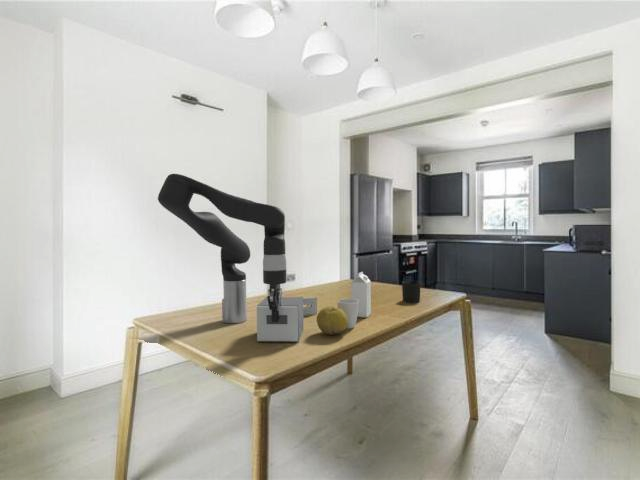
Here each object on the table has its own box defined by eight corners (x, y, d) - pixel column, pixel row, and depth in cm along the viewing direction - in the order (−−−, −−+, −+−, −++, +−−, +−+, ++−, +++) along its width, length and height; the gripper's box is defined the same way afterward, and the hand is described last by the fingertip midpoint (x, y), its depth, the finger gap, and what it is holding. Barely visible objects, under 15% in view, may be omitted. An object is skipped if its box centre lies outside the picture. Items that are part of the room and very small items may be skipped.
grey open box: (257, 341, 120) (257, 305, 120) (267, 329, 135) (266, 297, 135) (298, 342, 119) (298, 305, 119) (303, 329, 134) (303, 297, 134)
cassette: (316, 313, 160) (315, 296, 160) (317, 314, 158) (317, 297, 158) (290, 316, 155) (290, 299, 155) (292, 317, 154) (291, 299, 153)
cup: (360, 324, 140) (360, 299, 140) (355, 330, 132) (355, 303, 132) (340, 323, 143) (340, 298, 142) (335, 328, 135) (334, 302, 135)
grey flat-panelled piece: (257, 341, 118) (256, 307, 118) (266, 328, 134) (266, 298, 133) (297, 341, 118) (297, 307, 117) (302, 328, 133) (302, 298, 132)
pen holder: (417, 303, 179) (417, 283, 179) (399, 301, 184) (399, 282, 184) (422, 300, 187) (422, 281, 187) (405, 298, 192) (405, 280, 192)
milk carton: (350, 316, 153) (350, 273, 153) (355, 313, 160) (355, 271, 159) (366, 318, 151) (366, 273, 150) (370, 314, 157) (370, 271, 157)
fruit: (324, 340, 120) (324, 311, 120) (311, 331, 131) (311, 305, 131) (353, 336, 125) (353, 308, 125) (338, 328, 136) (338, 302, 135)
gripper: (282, 270, 108) (283, 326, 108) (289, 266, 121) (289, 317, 121) (258, 270, 109) (259, 326, 109) (267, 267, 122) (268, 317, 122)
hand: (275, 321), depth 115 cm, fingers closed
